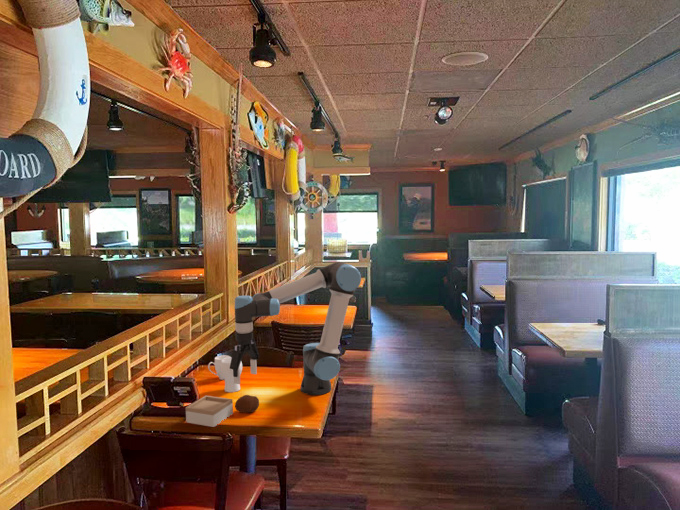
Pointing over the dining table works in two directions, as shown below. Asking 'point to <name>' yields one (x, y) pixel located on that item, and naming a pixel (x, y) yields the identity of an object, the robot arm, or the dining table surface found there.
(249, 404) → the potato
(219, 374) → the mug
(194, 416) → the tray
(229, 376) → the cup
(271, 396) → the dining table surface
